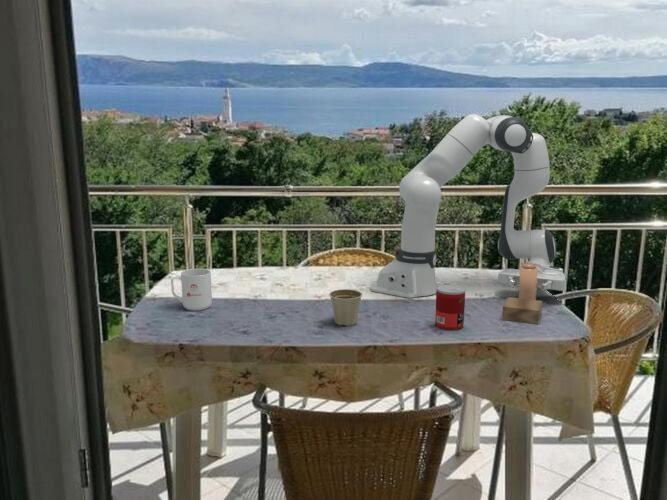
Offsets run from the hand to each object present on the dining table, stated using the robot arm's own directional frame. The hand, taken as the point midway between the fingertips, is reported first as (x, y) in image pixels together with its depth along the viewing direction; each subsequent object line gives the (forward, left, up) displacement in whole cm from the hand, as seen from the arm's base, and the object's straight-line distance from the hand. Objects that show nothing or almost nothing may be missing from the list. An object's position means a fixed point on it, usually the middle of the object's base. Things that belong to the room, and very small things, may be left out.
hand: (527, 285), depth 199 cm
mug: (-95, -41, -7) cm, 104 cm away
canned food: (-18, -27, -7) cm, 33 cm away
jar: (0, +1, -7) cm, 7 cm away
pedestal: (0, -11, -7) cm, 13 cm away
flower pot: (-46, -36, -7) cm, 59 cm away
